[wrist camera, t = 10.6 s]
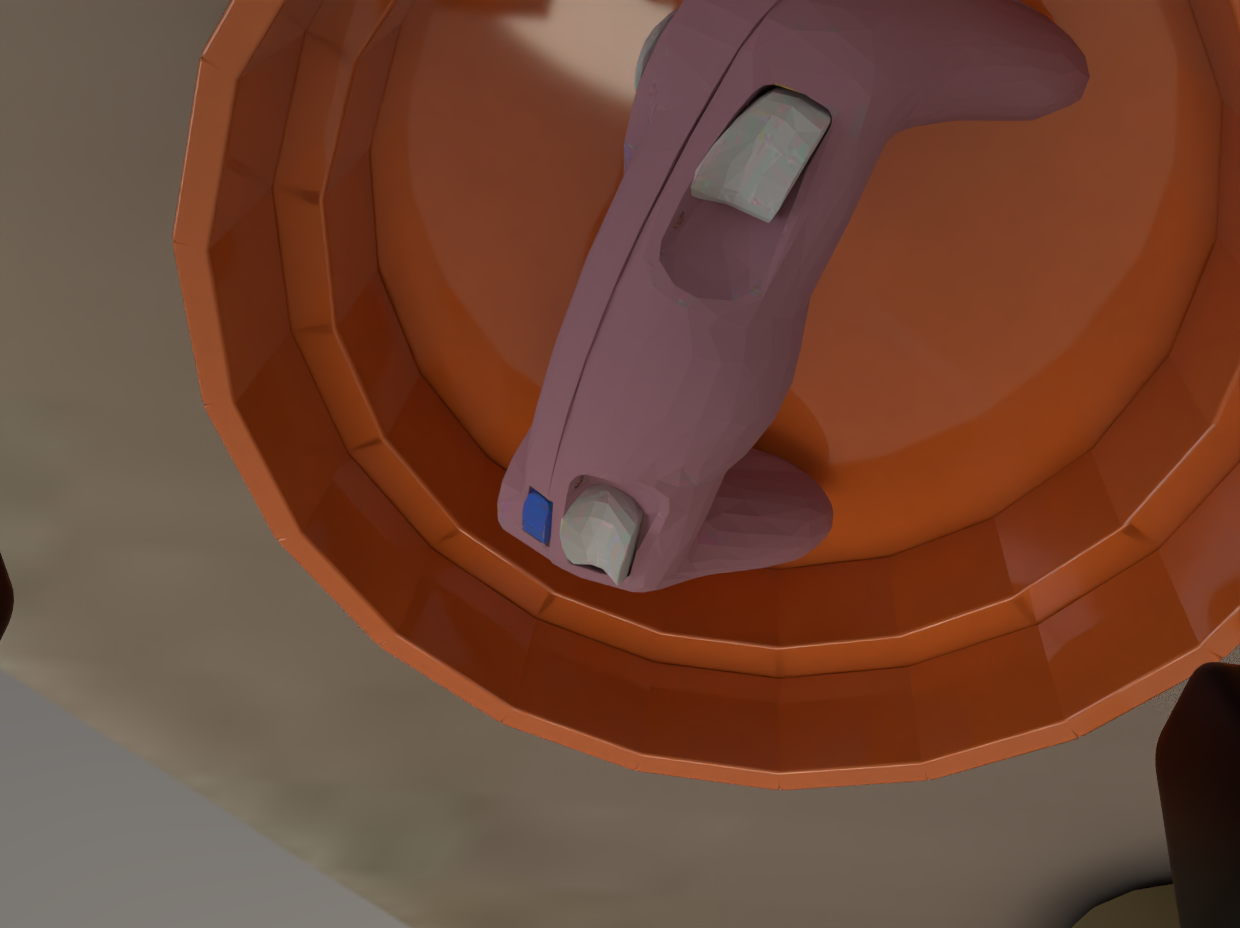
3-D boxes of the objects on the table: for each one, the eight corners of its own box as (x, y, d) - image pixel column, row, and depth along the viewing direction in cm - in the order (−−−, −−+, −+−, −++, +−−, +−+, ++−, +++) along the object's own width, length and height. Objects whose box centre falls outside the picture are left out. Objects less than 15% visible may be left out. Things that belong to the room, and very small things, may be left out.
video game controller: (849, -102, 16) (591, -117, 11) (1132, 29, 15) (993, 83, 10) (640, 415, 22) (402, 569, 17) (831, 543, 21) (640, 753, 15)
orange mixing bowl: (350, 545, 24) (261, 722, 20) (250, -393, 14) (44, -423, 10) (1105, 639, 23) (1175, 846, 19) (1520, -301, 13) (1840, -294, 9)
